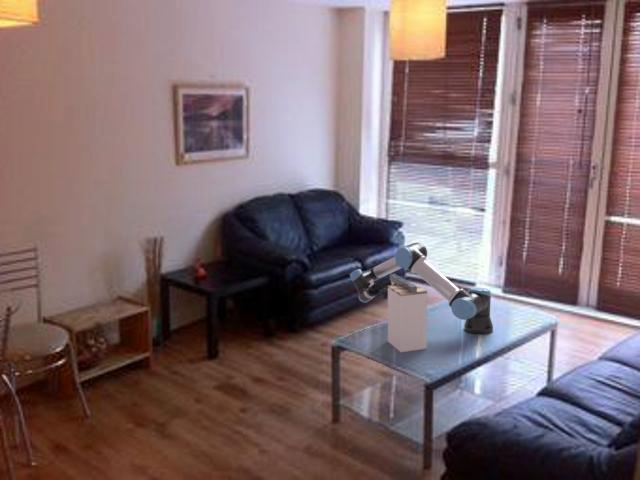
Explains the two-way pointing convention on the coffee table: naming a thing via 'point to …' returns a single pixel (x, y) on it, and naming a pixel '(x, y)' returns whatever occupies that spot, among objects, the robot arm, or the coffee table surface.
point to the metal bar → (403, 283)
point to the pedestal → (407, 318)
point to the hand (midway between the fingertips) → (384, 280)
